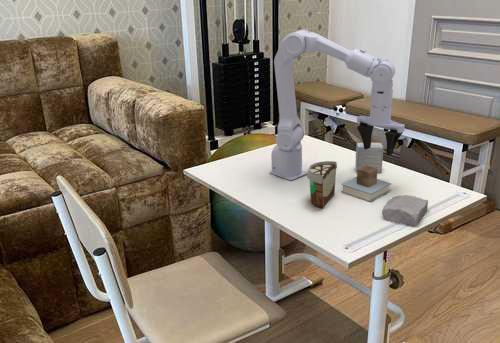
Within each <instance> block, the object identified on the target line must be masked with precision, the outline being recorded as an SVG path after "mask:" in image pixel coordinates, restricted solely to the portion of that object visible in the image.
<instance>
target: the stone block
mask: <svg viewBox="0 0 500 343" xmlns="http://www.w3.org/2000/svg"><path fill="white" fill-rule="evenodd" d="M428 205H429V200H428V199H423V198H421V197H417V196H415V195H409V194H403V195H395V196H392V197H391V198H390V199H388V200H387V202H386V203H385V205H383V207H382V210H381V215H382V218H383V220H384V221H386V222H389V221H390V223H392V222H394V223H393V224H398V225H400V224H401V225H404V224H405V225H404V226H410V225H411V226H410V227H417V226H418V224H419V223H420V221H421V219H422V218H423V217H424V215H425V213H426V212H427V211H428V207H429V206H428Z"/></svg>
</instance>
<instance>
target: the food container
mask: <svg viewBox="0 0 500 343" xmlns="http://www.w3.org/2000/svg"><path fill="white" fill-rule="evenodd" d="M337 163H338V162H337V161H334V160H333V161H332V160H325V161H319V162H315V163H313V164H310V166H309V167H308V169H307V171H306V172H307V174H306V177H307V179H308V180H309V189H310V190H309V191H310V203H311V205H312V206H313V207H315V208H318V209H322V210H324V209H325V208H326V206H327V205H328V204H329V203H330V202H331V201H332V199H333V198H334V197H335V193H336V179H337V178H336V176H337V168H338V164H337Z"/></svg>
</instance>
